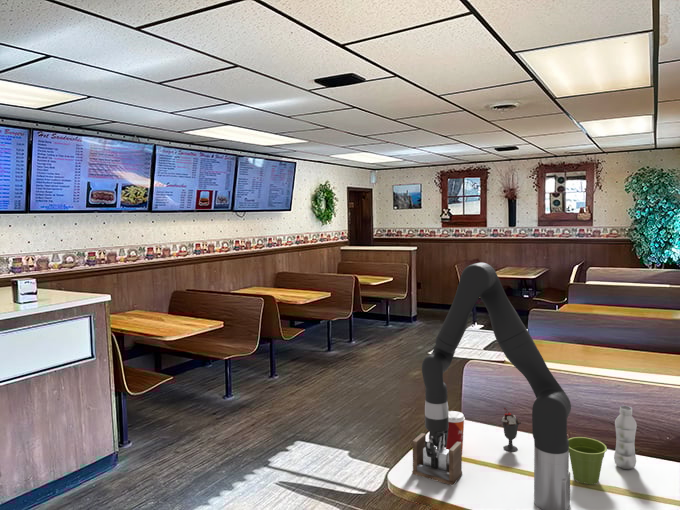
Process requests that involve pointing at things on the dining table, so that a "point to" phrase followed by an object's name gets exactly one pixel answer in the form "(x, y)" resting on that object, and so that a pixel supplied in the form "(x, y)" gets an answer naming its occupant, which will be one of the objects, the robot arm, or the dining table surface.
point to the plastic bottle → (625, 439)
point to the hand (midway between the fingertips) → (437, 464)
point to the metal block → (442, 459)
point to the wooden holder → (433, 473)
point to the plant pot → (586, 459)
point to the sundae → (510, 430)
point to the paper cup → (455, 428)
